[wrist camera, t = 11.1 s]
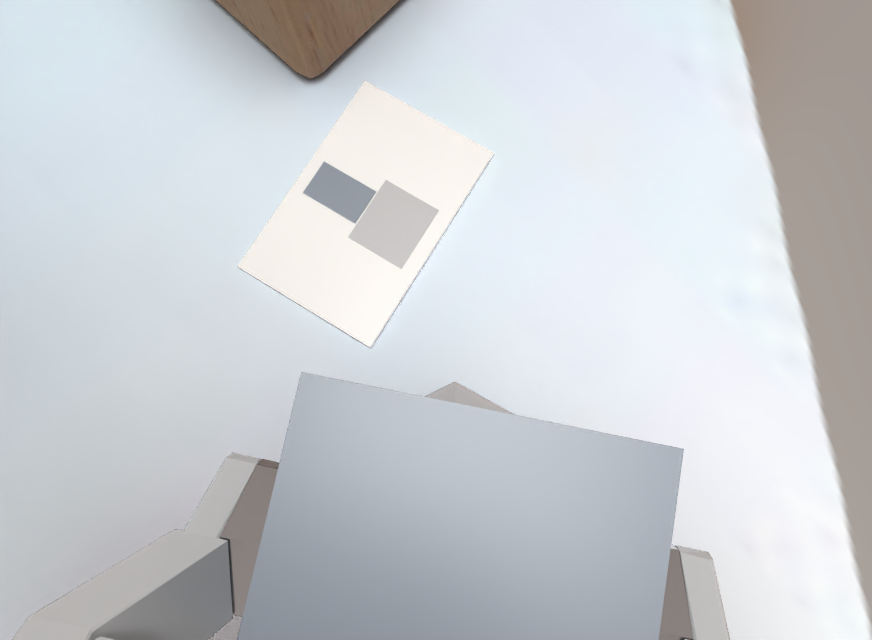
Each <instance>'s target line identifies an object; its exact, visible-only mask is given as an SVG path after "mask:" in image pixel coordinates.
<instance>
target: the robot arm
mask: <svg viewBox="0 0 872 640" xmlns="http://www.w3.org/2000/svg"><path fill="white" fill-rule="evenodd" d="M278 467H279V463H278V462H273V461H269V460H265V459H259V458H255V457H250V456H246V455H242V454H237V453H233V452H232V453H231V454H230V455H229V456H228V457H227V458H226V459H225V460H224V462H223V463H222V465H221V467H220V469H219V470H218V472H217V474H216V476H215V477H214V479H213V481H212V482H211V484H210V486H209V488H208V489H207V491H206V493H205V495H204V496H203V498H202V500H201V502H200V503H199V505H198V507H197V509H196V510H195V512H194V514H193V516H192V517H191V519H190V521H189V523H188V524H187V526H186V528H185V529H184V531H183V530H178V529H174V530H172V531H171V532H169V533H167V534H166V535H164V536H162V537H161V538H159V539H157V540H156V541H154V542H152V543H151V544H149V545H147V546H146V547H144V548H142V549H141V550H139V551H137V552H136V553H134V554H132V555H131V556H129V557H127V558H126V559H124V560H122V561H121V562H119V563H117V564H116V565H114V566H112V567H111V568H109V569H107V570H106V571H104V572H102V573H101V574H99V575H97V576H96V577H94V578H92V579H91V580H89V581H87V582H86V583H84V584H82V585H81V586H79V587H77V588H76V589H74V590H72V591H71V592H69V593H67V594H66V595H64V596H62V597H61V598H59V599H57V600H56V601H54V602H52V603H51V604H49V605H47V606H46V607H44V608H42V609H41V610H39V611H37V612H36V613H34V614H32V615H31V616H29V617H28V618H27V620H26V621H25V622H24V624H23V625H22V627H21V628H20V629H19V631H18V632H17V633H16V635H15V636H14V638H13V639H12V640H208V639H209V638H210V637H211V636H213V635H214V634H215V633H216V632H217V631H218V630H219V629H221V628H222V627H223V626H224V625H225V624H226V623H228V622H229V621H230V620H231V619H232V618H233V615H238V616H243V613H244V609H245V605H246V601H247V596H248V592H249V588H250V584H251V580H252V576H253V571H254V567H255V563H256V559H257V555H258V550H259V546H260V542H261V538H262V534H263V530H264V525H265V521H266V517H267V513H268V509H269V505H270V500H271V496H272V492H273V488H274V484H275V480H276V475H277V471H278ZM659 640H730V637H729V632H728V628H727V623H726V619H725V614H724V609H723V605H722V600H721V595H720V591H719V586H718V582H717V577H716V572H715V568H714V563H713V559H712V557H711V555H710V554H709V553H708V552H706V551H701V550H696V549H691V548H686V547H681V546H674V545H673V544H671V549H670V557H669V564H668V572H667V579H666V587H665V595H664V602H663V610H662V617H661V625H660V632H659Z"/></svg>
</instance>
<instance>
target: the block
mask: <svg viewBox="0 0 872 640" xmlns="http://www.w3.org/2000/svg"><path fill="white" fill-rule="evenodd" d="M216 1H217V2H218V3H219V4H220V5H222V6H223V7H224V8H225V9H226V10H227V11H228V12H229V13H230V14H232V15H233V16H234V17H235V18H236V19H237V20H238V21H239V22H241V23H242V24H243V25H244V26H245V27H246V28H247V29H248V30H249V31H251V32H252V33H253V34H254V35H255V36H256V37H257V38H258V39H260V40H261V41H262V42H263V43H264V44H265V45H266V46H267V47H268V48H270V49H271V50H272V51H273V52H274V53H275V54H276V55H277V56H279V57H280V58H281V59H282V60H283V61H284V62H285V63H286V64H287V65H289V66H290V67H291V68H292V69H293V70H294V71H295V72H297V73H299V74H301V75H303V76H305V77H308V78H310V79H312V78H314V77H316V76H319V75H321V74H322V73H323V72H324V71H325V70H326V69H327V68H328V67H329V66H330V65H331V64H333V63H334V62H335V61H336V60H337V59H338V58H339V57H340V56H341V55H342V54H343V53H344V52H345V51H346V50H347V49H349V48H350V47H351V46H352V45H353V44H354V43H355V42H356V41H357V40H358V39H359V38H360V37H361V36H362V35H363V34H364V33H366V32H367V31H368V30H369V29H370V28H371V27H372V26H373V25H374V24H375V23H376V22H377V21H378V20H379V19H380V18H381V17H383V16H384V15H385V14H386V13H387V12H388V11H389V10H390V9H391V8H392V7H393V6H394V5H395V4H396V3H397V2H398V1H400V0H216Z"/></svg>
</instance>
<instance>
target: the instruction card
mask: <svg viewBox="0 0 872 640" xmlns="http://www.w3.org/2000/svg"><path fill="white" fill-rule="evenodd" d="M493 155H494V152H492V151H490V150H488V149H486V148H485V147H483V146H481V145H479V144H477V143H476V142H474V141H472V140H470V139H469V138H467V137H465V136H463V135H461V134H460V133H458V132H456V131H454V130H452V129H451V128H449V127H447V126H445V125H443V124H442V123H440V122H438V121H436V120H434V119H433V118H431V117H429V116H427V115H426V114H424V113H422V112H420V111H418V110H417V109H415V108H413V107H411V106H409V105H408V104H406V103H404V102H402V101H400V100H399V99H397V98H395V97H393V96H391V95H390V94H388V93H386V92H384V91H383V90H381V89H379V88H377V87H375V86H374V85H372V84H370V83H368V82H366V81H364V82H363V84H362V85H361V87H360V88H359V90H358V91H357V93H356V94H355V96H354V97H353V99H352V100H351V101H350V103H349V104H348V106H347V107H346V109H345V110H344V112H343V113H342V115H341V116H340V117H339V119H338V120H337V122H336V123H335V125H334V126H333V128H332V129H331V131H330V132H329V134H328V135H327V136H326V138H325V139H324V141H323V142H322V144H321V145H320V147H319V148H318V150H317V151H316V152H315V154H314V155H313V157H312V158H311V160H310V161H309V163H308V164H307V166H306V167H305V169H304V170H303V171H302V173H301V174H300V176H299V177H298V179H297V180H296V182H295V183H294V185H293V186H292V187H291V189H290V190H289V192H288V193H287V195H286V196H285V198H284V199H283V201H282V202H281V204H280V205H279V206H278V208H277V209H276V211H275V212H274V214H273V215H272V217H271V218H270V220H269V221H268V222H267V224H266V225H265V227H264V228H263V230H262V231H261V233H260V234H259V236H258V237H257V239H256V240H255V241H254V243H253V244H252V246H251V247H250V249H249V250H248V252H247V253H246V255H245V256H244V257H243V259H242V260H241V262H240V263H239V265H238V267H239V268H240V269H242V270H243V271H245V272H247V273H248V274H250V275H252V276H253V277H255V278H256V279H258V280H260V281H261V282H263V283H265V284H266V285H268V286H270V287H271V288H273V289H275V290H276V291H278V292H279V293H281V294H283V295H284V296H286V297H288V298H289V299H291V300H293V301H294V302H296V303H297V304H299V305H301V306H302V307H304V308H306V309H307V310H309V311H311V312H312V313H314V314H315V315H317V316H319V317H320V318H322V319H324V320H325V321H327V322H329V323H330V324H332V325H333V326H335V327H337V328H338V329H340V330H342V331H343V332H345V333H347V334H348V335H350V336H351V337H353V338H355V339H356V340H358V341H360V342H361V343H363V344H365V345H366V346H368V347H369V348H371V347H372V346H373V344H374V343H375V341H376V340H377V338H378V336H379V335H380V333H381V332H382V330H383V329H384V327H385V325H386V324H387V322H388V321H389V319H390V318H391V316H392V314H393V313H394V311H395V310H396V308H397V306H398V305H399V303H400V302H401V300H402V299H403V297H404V295H405V294H406V292H407V291H408V289H409V288H410V286H411V284H412V283H413V281H414V280H415V278H416V277H417V275H418V273H419V272H420V270H421V269H422V267H423V266H424V264H425V262H426V261H427V259H428V258H429V256H430V255H431V253H432V251H433V250H434V248H435V247H436V245H437V244H438V242H439V240H440V239H441V237H442V236H443V234H444V233H445V231H446V229H447V228H448V226H449V225H450V223H451V222H452V220H453V218H454V217H455V215H456V214H457V212H458V210H459V209H460V207H461V206H462V204H463V203H464V201H465V199H466V198H467V196H468V195H469V193H470V192H471V190H472V188H473V187H474V185H475V184H476V182H477V181H478V179H479V177H480V176H481V174H482V173H483V171H484V170H485V168H486V166H487V165H488V163H489V162H490V160H491V159H492V157H493Z"/></svg>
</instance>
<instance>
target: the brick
mask: <svg viewBox="0 0 872 640" xmlns="http://www.w3.org/2000/svg"><path fill="white" fill-rule="evenodd" d="M683 451H684V449H682V448H677V447H672V446H667V445H662V444H657V443H652V442H647V441H642V440H637V439H632V438H627V437H622V436H617V435H612V434H607V433H602V432H597V431H592V430H587V429H582V428H577V427H572V426H567V425H562V424H557V423H552V422H547V421H542V420H537V419H532V418H527V417H522V416H517V415H512V414H507V413H502V412H497V411H492V410H487V409H482V408H478V407H473V406H468V405H463V404H458V403H453V402H448V401H443V400H438V399H433V398H428V397H423V396H418V395H413V394H408V393H403V392H398V391H393V390H388V389H383V388H378V387H373V386H368V385H363V384H358V383H353V382H348V381H343V380H338V379H333V378H328V377H323V376H318V375H313V374H308V373H303V372H301V375H300V379H299V384H298V388H297V392H296V396H295V400H294V404H293V409H292V413H291V417H290V421H289V425H288V429H287V434H286V438H285V442H284V446H283V450H282V455H281V459H280V463H279V467H278V471H277V475H276V480H275V484H274V488H273V492H272V496H271V500H270V505H269V509H268V513H267V517H266V521H265V525H264V530H263V534H262V538H261V542H260V546H259V550H258V555H257V559H256V563H255V567H254V571H253V576H252V580H251V584H250V588H249V592H248V596H247V601H246V605H245V609H244V613H243V617H242V621H241V626H240V630H239V634H238V638H237V640H659V632H660V625H661V617H662V610H663V602H664V595H665V587H666V579H667V572H668V564H669V557H670V549H671V542H672V534H673V527H674V519H675V511H676V504H677V496H678V489H679V481H680V474H681V466H682V458H683Z"/></svg>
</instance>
